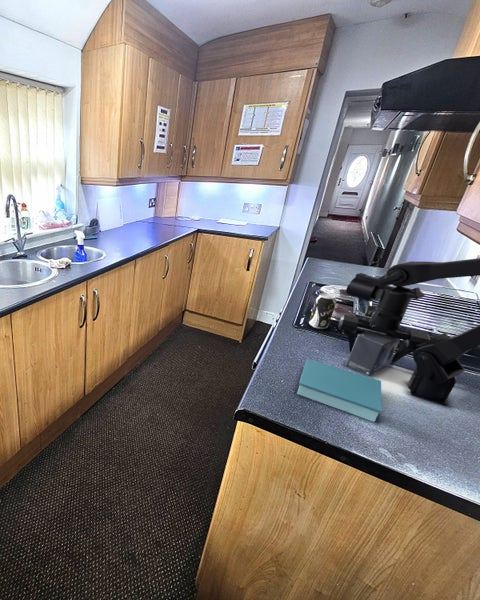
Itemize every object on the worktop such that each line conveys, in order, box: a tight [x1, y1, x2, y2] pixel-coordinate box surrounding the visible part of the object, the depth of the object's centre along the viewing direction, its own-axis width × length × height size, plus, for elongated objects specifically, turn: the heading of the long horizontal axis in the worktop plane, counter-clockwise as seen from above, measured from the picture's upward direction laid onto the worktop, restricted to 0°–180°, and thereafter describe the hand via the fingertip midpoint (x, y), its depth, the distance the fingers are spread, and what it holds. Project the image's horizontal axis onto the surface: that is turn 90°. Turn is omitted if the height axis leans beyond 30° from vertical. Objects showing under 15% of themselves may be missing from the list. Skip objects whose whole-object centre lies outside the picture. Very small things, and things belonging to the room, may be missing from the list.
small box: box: [345, 331, 401, 377], centre depth 93 cm, size 11×6×10 cm, turn 118°
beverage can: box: [308, 292, 337, 330], centre depth 115 cm, size 6×6×12 cm
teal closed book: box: [296, 358, 383, 423], centre depth 83 cm, size 16×14×4 cm
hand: (370, 357), depth 94 cm, fingers open, 9 cm apart
